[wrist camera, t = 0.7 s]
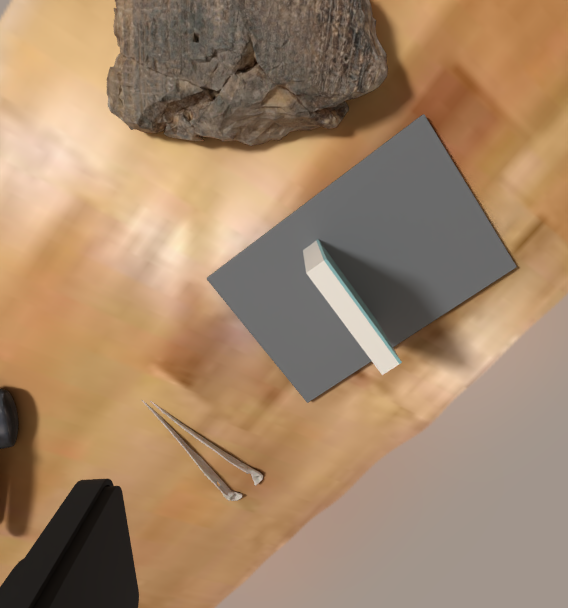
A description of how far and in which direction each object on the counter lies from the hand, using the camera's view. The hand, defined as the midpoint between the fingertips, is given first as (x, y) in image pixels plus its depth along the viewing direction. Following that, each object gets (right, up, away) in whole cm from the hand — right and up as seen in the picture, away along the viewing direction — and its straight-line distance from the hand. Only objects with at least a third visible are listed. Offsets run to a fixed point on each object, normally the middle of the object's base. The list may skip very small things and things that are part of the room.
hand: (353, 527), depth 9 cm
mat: (+5, +7, +29) cm, 30 cm away
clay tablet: (-4, +24, +25) cm, 35 cm away
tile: (+4, +6, +29) cm, 29 cm away
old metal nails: (-11, -8, +35) cm, 37 cm away
